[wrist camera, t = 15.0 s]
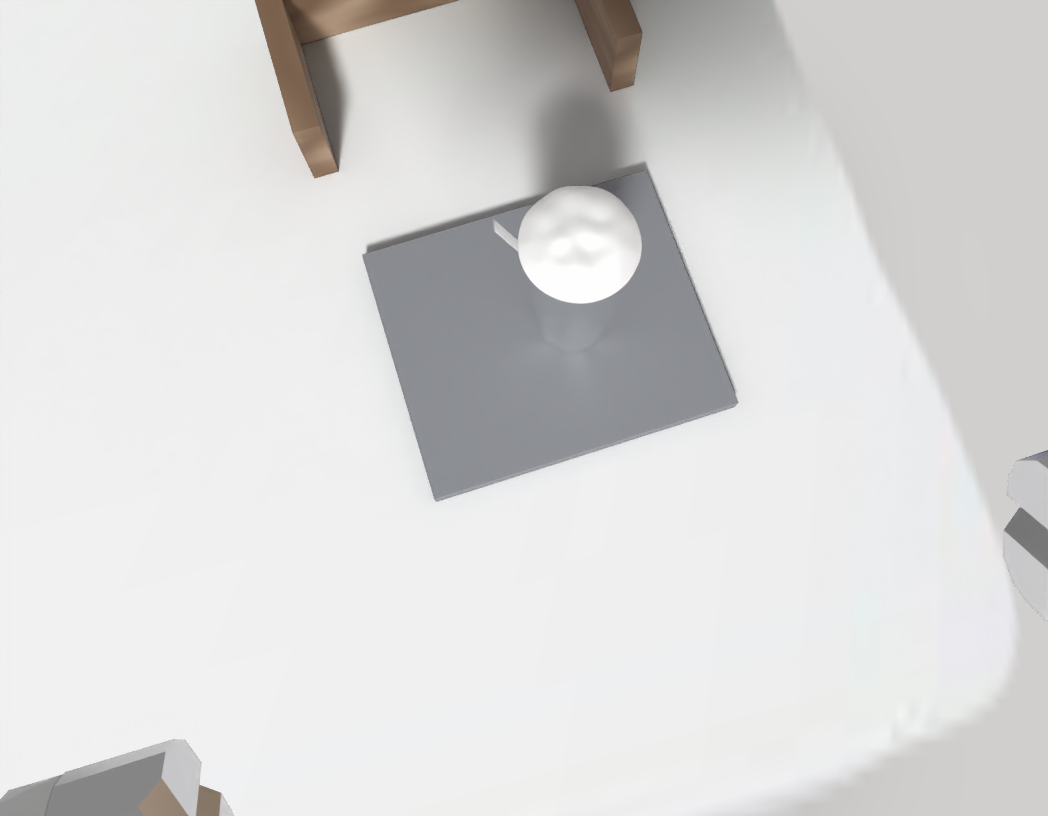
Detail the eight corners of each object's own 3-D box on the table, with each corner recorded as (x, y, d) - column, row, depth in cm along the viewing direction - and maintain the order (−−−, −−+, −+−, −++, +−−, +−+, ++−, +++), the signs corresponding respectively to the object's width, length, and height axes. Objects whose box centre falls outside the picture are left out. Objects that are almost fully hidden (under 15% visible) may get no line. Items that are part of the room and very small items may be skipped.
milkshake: (501, 276, 41) (489, 165, 31) (617, 269, 41) (642, 156, 31) (506, 371, 40) (495, 285, 30) (625, 364, 40) (653, 276, 30)
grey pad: (436, 501, 39) (434, 499, 39) (365, 261, 42) (361, 254, 42) (734, 406, 40) (738, 402, 40) (644, 178, 43) (646, 169, 42)
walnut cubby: (314, 178, 43) (292, 133, 40) (272, 31, 46) (247, -25, 42) (633, 85, 44) (642, 32, 41) (577, -54, 47) (581, -117, 43)
